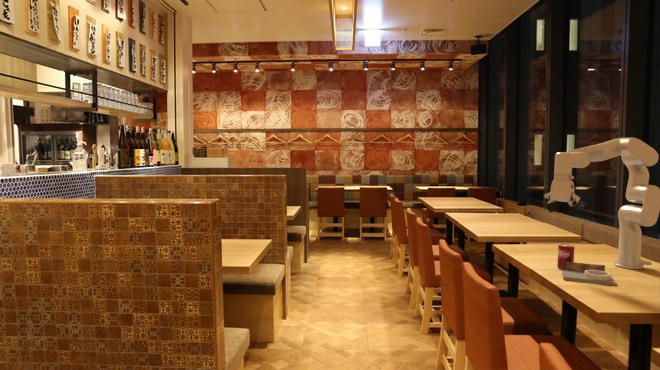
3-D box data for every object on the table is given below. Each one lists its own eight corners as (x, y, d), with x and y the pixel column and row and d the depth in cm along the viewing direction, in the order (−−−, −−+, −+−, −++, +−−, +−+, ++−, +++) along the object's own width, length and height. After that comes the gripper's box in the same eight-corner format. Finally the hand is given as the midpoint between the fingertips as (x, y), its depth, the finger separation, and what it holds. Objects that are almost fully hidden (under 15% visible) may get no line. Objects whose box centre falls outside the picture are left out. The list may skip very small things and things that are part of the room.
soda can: (564, 271, 223) (565, 246, 222) (553, 267, 230) (554, 244, 229) (576, 270, 225) (578, 246, 224) (565, 266, 232) (566, 243, 231)
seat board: (610, 278, 210) (610, 271, 210) (614, 285, 199) (615, 277, 199) (562, 273, 218) (562, 266, 218) (563, 279, 207) (563, 272, 207)
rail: (604, 275, 215) (604, 265, 215) (604, 276, 214) (605, 265, 214) (566, 271, 222) (566, 261, 222) (566, 272, 220) (566, 262, 220)
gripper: (584, 178, 214) (582, 215, 216) (549, 176, 229) (548, 210, 230) (576, 179, 210) (574, 216, 211) (541, 177, 225) (539, 211, 226)
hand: (560, 213), depth 221 cm, fingers open, 9 cm apart
